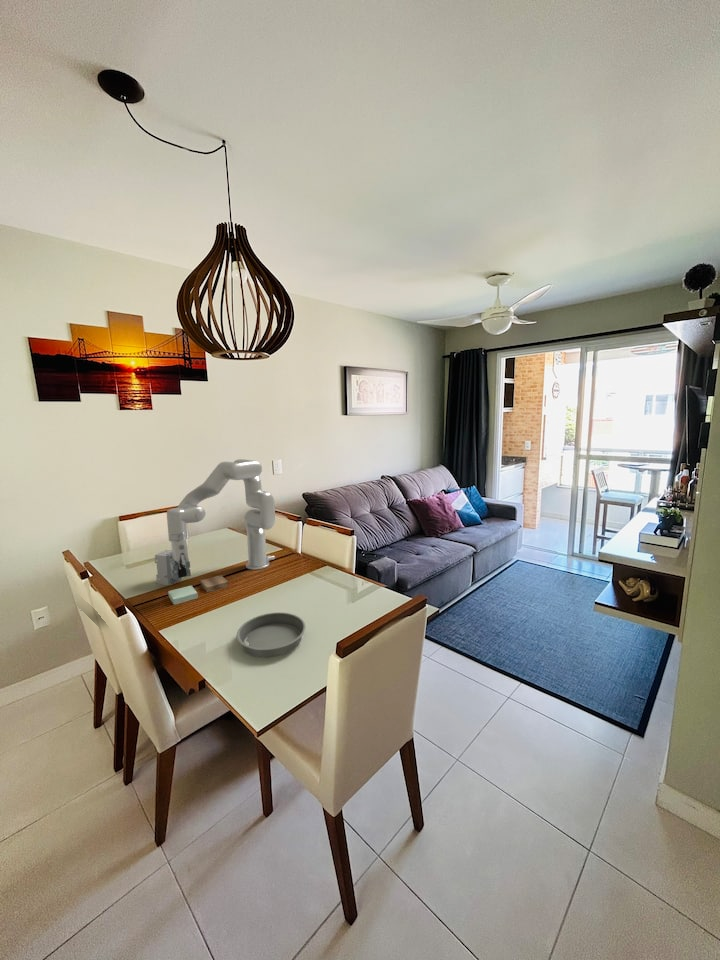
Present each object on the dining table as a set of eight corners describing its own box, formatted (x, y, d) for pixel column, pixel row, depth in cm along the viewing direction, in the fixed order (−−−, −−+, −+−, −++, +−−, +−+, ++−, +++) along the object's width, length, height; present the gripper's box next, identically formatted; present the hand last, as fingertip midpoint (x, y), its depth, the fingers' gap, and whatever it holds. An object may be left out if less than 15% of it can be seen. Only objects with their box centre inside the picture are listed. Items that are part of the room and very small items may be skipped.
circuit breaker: (182, 586, 184) (180, 557, 181) (156, 583, 186) (154, 554, 184) (192, 579, 191) (190, 551, 188) (167, 577, 194) (164, 549, 191)
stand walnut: (221, 579, 191) (221, 575, 191) (228, 586, 183) (228, 581, 183) (200, 585, 185) (200, 580, 184) (207, 592, 177) (206, 587, 177)
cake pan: (274, 616, 157) (273, 605, 156) (319, 635, 143) (319, 624, 142) (223, 645, 137) (222, 633, 136) (269, 670, 123) (269, 658, 122)
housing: (187, 572, 175) (186, 558, 174) (190, 575, 171) (189, 561, 170) (171, 576, 170) (170, 562, 169) (174, 579, 167) (172, 565, 166)
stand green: (191, 590, 179) (191, 585, 179) (197, 598, 172) (197, 592, 171) (168, 596, 173) (168, 591, 173) (174, 604, 166) (173, 599, 165)
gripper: (192, 539, 163) (195, 578, 166) (182, 530, 177) (184, 567, 180) (173, 542, 159) (176, 583, 162) (164, 533, 172) (167, 570, 175)
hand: (181, 574), depth 171 cm, fingers closed on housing, 5 cm apart
